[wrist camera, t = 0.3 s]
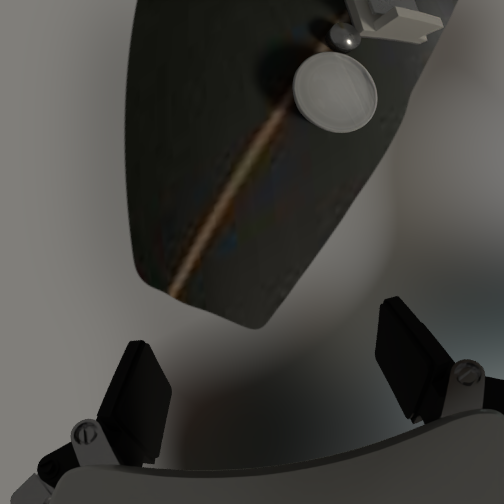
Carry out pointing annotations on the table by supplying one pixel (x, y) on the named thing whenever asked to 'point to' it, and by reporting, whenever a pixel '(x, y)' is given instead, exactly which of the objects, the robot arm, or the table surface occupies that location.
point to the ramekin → (334, 92)
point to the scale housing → (392, 23)
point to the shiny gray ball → (342, 38)
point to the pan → (390, 5)
